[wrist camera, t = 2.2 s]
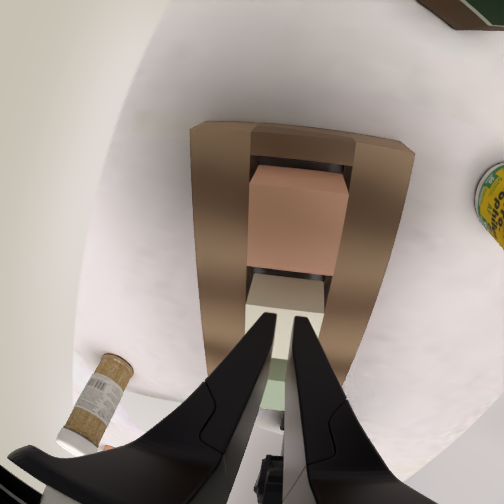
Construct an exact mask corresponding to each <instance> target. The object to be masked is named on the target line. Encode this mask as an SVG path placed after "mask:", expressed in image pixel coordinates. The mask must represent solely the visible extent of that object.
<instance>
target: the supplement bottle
mask: <svg viewBox="0 0 504 504" xmlns="http://www.w3.org/2000/svg"><path fill="white" fill-rule="evenodd" d="M475 208H476V212H477V215H478V217H479V220H480V222H481V223H482V225H483V226H484V227H485V228H486V230H487V231H488V232H489V233H490V234H491V235H492V236H493V237H494V239H495V240H496V241H497V242H498V243H499V245H500V246H501V247H502V248H503V249H504V163H500V164H498V165H496V166H494V167H492V168H491V169H490V170H489V171H488V172H487V173H486V174H485V175H484V176H483V178H482V179H481V181H480V183H479V185H478V188H477V191H476V197H475Z"/></svg>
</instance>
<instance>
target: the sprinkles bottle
mask: <svg viewBox="0 0 504 504" xmlns="http://www.w3.org/2000/svg"><path fill="white" fill-rule="evenodd" d="M132 376H133V371H132V368H131V367H130V366H129V364H127V363H126V362H125V361H124V360H122V359H121V358H119V357H117V356H115V355H109V354H106V355H104V356H103V357H102V358H101V362H100V364H99V365H98V367H97V368H96V370H95V372H94V374H92V376H91V378H90V379H89V381H88V383H87V384H86V386H85V388H84V390H83V391H82V393H81V395H80V397H79V399H78V400H77V402H76V404H75V406H74V409H73V411H72V413H71V415H70V417H69V419H68V421H67V423H66V425H65V426H64V427H63V428H62V429H61V430H60V432H59V434H58V436H57V439H56V441H57V443H58V444H59V445H60V446H61V447H62V448H64V449H65V450H66V451H68V452H70V453H71V454H73V455H75V456H76V457H79V456H84V455H88V454H93V453H97V451H98V449H97V448H98V444H99V442H100V440H101V438H102V436H103V434H104V432H105V429H106V428H107V426H108V424H109V422H110V420H111V418H112V416H113V414H114V412H115V410H116V408H117V406H118V404H119V401H120V399H121V397H122V395H123V392H124V390H125V388H126V386H127V384H128V382H129V380H130V378H131V377H132Z"/></svg>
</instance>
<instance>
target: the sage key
mask: <svg viewBox="0 0 504 504" xmlns="http://www.w3.org/2000/svg"><path fill="white" fill-rule="evenodd" d="M287 361H288V360H286V359H278V358H271V364H270V371H269V376H268V381H267V384H266V388H265V391H264V394H263V398H262V401H261V404H260V407H259V408H263V409H271V410H278V411H285V376H286V369H287Z"/></svg>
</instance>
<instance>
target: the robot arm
mask: <svg viewBox="0 0 504 504" xmlns="http://www.w3.org/2000/svg"><path fill="white" fill-rule="evenodd" d="M276 322H277V314H276V313H270V312H264V313H263V314H262V315H261V316H260V317H259V318H258V320H257V321H256V322H255V323H254V324H253V326H252V327H251V328H250V329H249V330H248V331H247V333H246V334H245V335H244V336H243V337H242V338H241V340H240V341H239V342H238V343H237V344H236V345H235V346H234V348H233V349H232V350H231V351H230V352H229V353H228V354H227V356H226V357H225V358H224V359H223V360H222V361H221V362H220V364H219V365H218V366H217V367H216V368H215V369H214V370H213V371H212V373H211V374H210V375H209V376H208V377H207V378H206V379H205V382H202V383H201V385H200V386H199V387H198V388H197V389H196V390H195V391H194V392H193V393H192V394H191V395H190V396H189V397H188V398H187V399H186V400H185V401H184V402H183V403H182V404H181V405H180V406H178V407H177V408H176V409H175V410H174V411H173V412H172V413H170V414H169V415H168V416H167V417H165V418H164V419H163V420H161V421H160V422H159V423H158V424H156V425H155V426H154V427H153V428H152V429H150V430H149V431H148V432H146V433H145V434H144V435H142V436H141V437H140V438H138V439H136V440H135V441H133V442H131V443H129V444H126V445H124V446H120V447H116V448H113V449H109V450H105V451H101V452H97V453H93V454H88V455H84V456H79V457H75V458H57V457H53V456H51V455H48V454H47V453H45V452H43V451H42V450H40V449H38V448H36V447H34V446H32V445H28V446H25V447H22V448H19V449H17V450H15V451H13V452H12V453H10V454H9V455H8V457H7V458H8V459H9V460H10V461H12V462H13V463H15V464H16V465H17V466H19V467H20V468H21V469H23V470H24V471H26V472H28V473H29V474H30V475H32V476H33V477H35V478H36V479H38V480H39V481H41V482H42V483H44V484H46V485H47V486H46V488H45V490H44V492H43V494H41V493H40V492H38V491H36V490H35V489H33V488H32V487H30V486H29V485H27V484H26V483H24V482H23V481H22V480H20V479H19V478H17V477H16V476H15V475H13V474H12V473H10V472H9V471H8V470H6V469H5V468H4V467H3V466H1V465H0V504H226V503H227V501H228V498H229V494H230V492H231V490H232V487H233V483H234V481H235V478H236V475H237V473H238V470H239V467H240V464H241V461H242V458H243V456H244V453H245V450H246V447H247V444H248V441H249V438H250V435H251V432H252V428H253V426H254V423H255V420H256V416H257V413H258V410H259V407H260V404H261V401H262V398H263V394H264V391H265V388H266V384H267V381H268V376H269V371H270V364H271V358H272V351H273V345H274V338H275V330H276ZM346 399H347V397H346V395H345V393H344V391H343V389H342V387H341V385H340V383H339V380H338V378H337V376H336V374H335V372H334V370H333V368H332V366H331V364H330V362H329V360H328V358H327V356H326V354H325V352H324V349H323V347H322V345H321V343H320V341H319V339H318V337H317V335H316V333H315V331H314V329H313V327H312V325H311V323H310V321H309V319H308V318H307V317H303V316H295V317H294V320H293V326H292V332H291V338H290V346H289V353H288V361H287V369H286V376H285V411H284V414H283V417H282V421H281V425H280V429H281V430H284V436H283V443H282V451H281V456H272V455H266V459H263V460H262V465H261V470H260V473H259V476H258V479H257V481H256V483H255V486H254V492H255V493H256V494H257V498H258V504H437V503H436V502H434V501H432V500H431V499H429V498H427V497H425V496H424V495H422V494H421V493H419V492H417V491H416V490H414V489H412V488H411V487H409V486H407V485H406V484H404V483H403V482H401V481H400V480H399V479H397V478H396V477H395V476H394V475H393V473H392V472H391V471H390V470H389V468H388V467H387V465H386V464H385V462H384V461H383V459H382V458H381V456H380V455H379V453H378V452H377V450H376V449H375V447H374V445H373V444H372V442H371V441H370V439H369V438H368V436H367V435H366V433H365V431H364V430H363V428H362V426H361V425H360V423H359V421H358V419H357V417H356V415H355V413H354V412H353V410H352V408H351V405H350V403H349V401H348V400H346Z"/></svg>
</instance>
